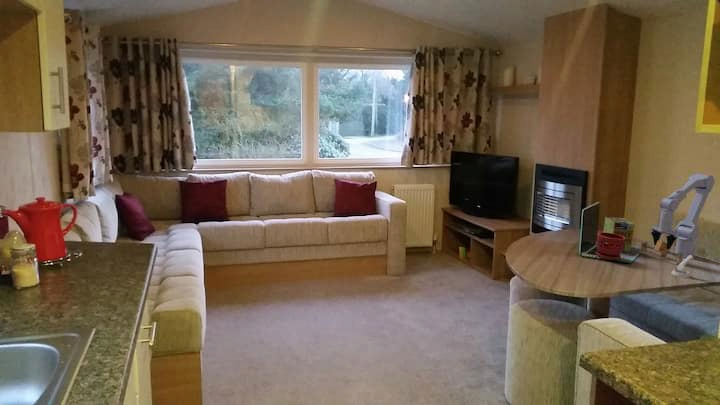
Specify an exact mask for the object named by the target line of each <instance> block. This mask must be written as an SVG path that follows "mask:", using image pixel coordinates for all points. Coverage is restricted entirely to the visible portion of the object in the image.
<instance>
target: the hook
mask: <svg viewBox="0 0 720 405" xmlns="http://www.w3.org/2000/svg"><path fill="white" fill-rule="evenodd" d="M693 259H694V257H693V256H692V255H689V256H688V257H686V258H684V259H682V262H681V263H680V264H677V269H673V270H672V271H671V274H672V275H673V276H676V277H679V278H690V277H691V274H690V272H689V271H687V270H686V268H687V267H686V265H687V264H689V263H690V262H691V261H692V260H693Z"/></svg>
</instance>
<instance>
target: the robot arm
mask: <svg viewBox="0 0 720 405" xmlns="http://www.w3.org/2000/svg"><path fill="white" fill-rule="evenodd" d="M715 182H716V181H715V177H714V176H713V175H709V174H702V173H696V172H694V173H691V175H690V176H689V178H688V181H687V182H686V183H685V184H684V186H682V187H681V188H680V189H679V188H678V189H676V190H675V191H673V193H671V194H670V195H669V196H668V197H664V198H662V199H661V200H660V202H659V207H660V212H661V213H660V218H659V225H658V227H657V226H650V231H651V232H650V234H651V236H652V240H653V243H654V244H653V246H655V245H656V243H657V241H658V240H660V238H661V236H662V234H664V235H666V244H667V246H666V249H670V250H671V248H672V246H673V244H674V243H675V241H676V245H675V251H673V252H674V253H683V258H684V259H686V258H687V257H688V256H689V255H692V256H693V258H694V257H697V255H696V249H697V241H696V240H697V239H698V238H699V232H700V227H699V225H698V224H697V223H698V220H699V217H700V215H701V213H702V210H703V208H704V206H705V203H706V201H707V199H708V197H709V194H710V193H711V192H712V189H713V188H714V185H715ZM692 190H695V193H696V194H695V196H694V198H693V200H692V203H691V205H690V208H689V210H688V212H687V214H686V216H685V219H684V220H682V221H679V222H678V225H677V226H675V228H674V230H672V228H673V222H674V217H675V216H674V215H675V211H676V210H678V208H679V206H680V205H681V204H680V203H681V202H683V201H684V200H685V199H686V197H687V194H689V193H690V192H691V191H692Z"/></svg>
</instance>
